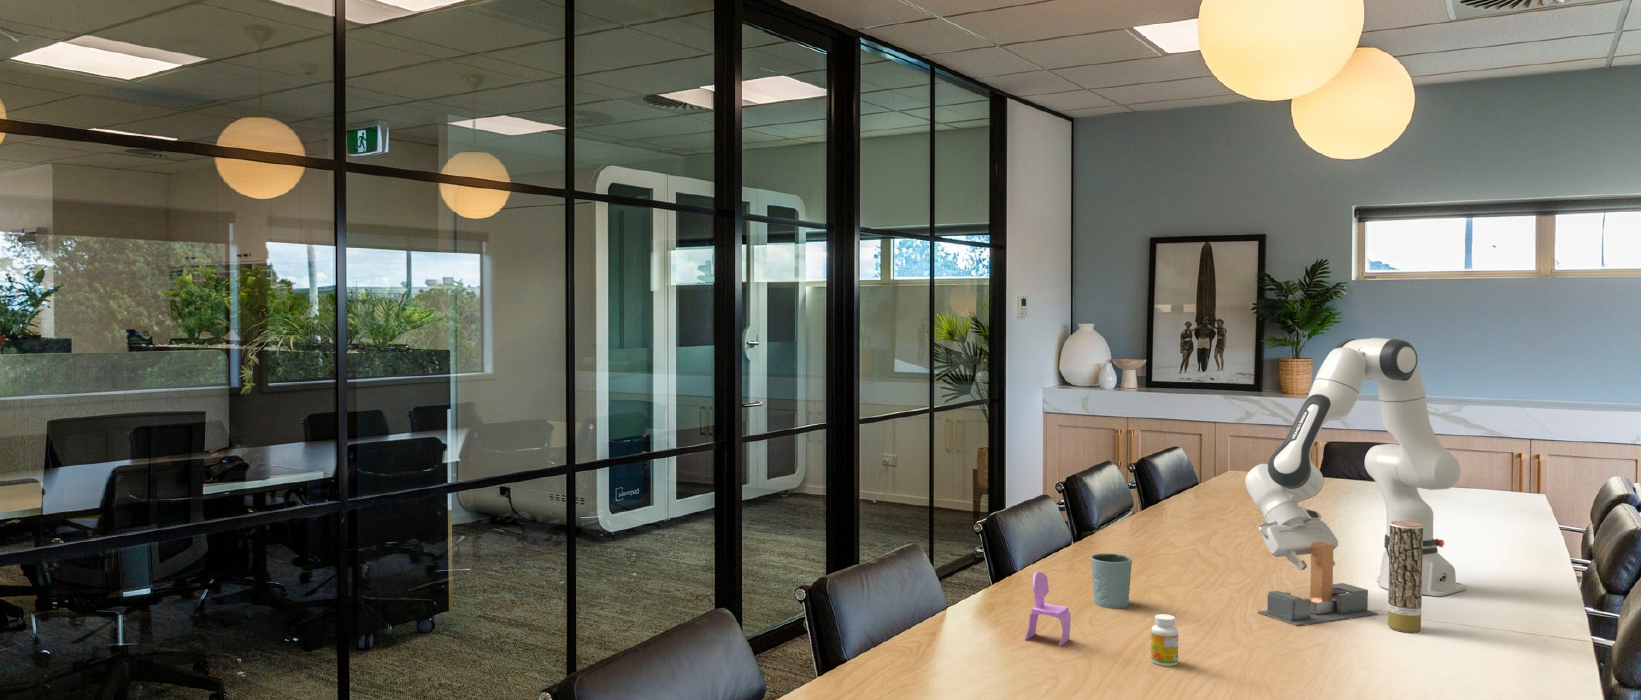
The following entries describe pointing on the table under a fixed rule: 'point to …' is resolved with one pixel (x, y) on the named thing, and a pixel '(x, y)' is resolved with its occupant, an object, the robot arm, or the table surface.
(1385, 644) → the table surface
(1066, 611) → the toy chair
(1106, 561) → the grey-green cup
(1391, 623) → the paper tube
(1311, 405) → the robot arm
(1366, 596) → the grey u-shaped block
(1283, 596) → the socket
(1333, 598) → the brown piece
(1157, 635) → the supplement bottle
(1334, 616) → the grey rectangular plate
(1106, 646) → the table surface
